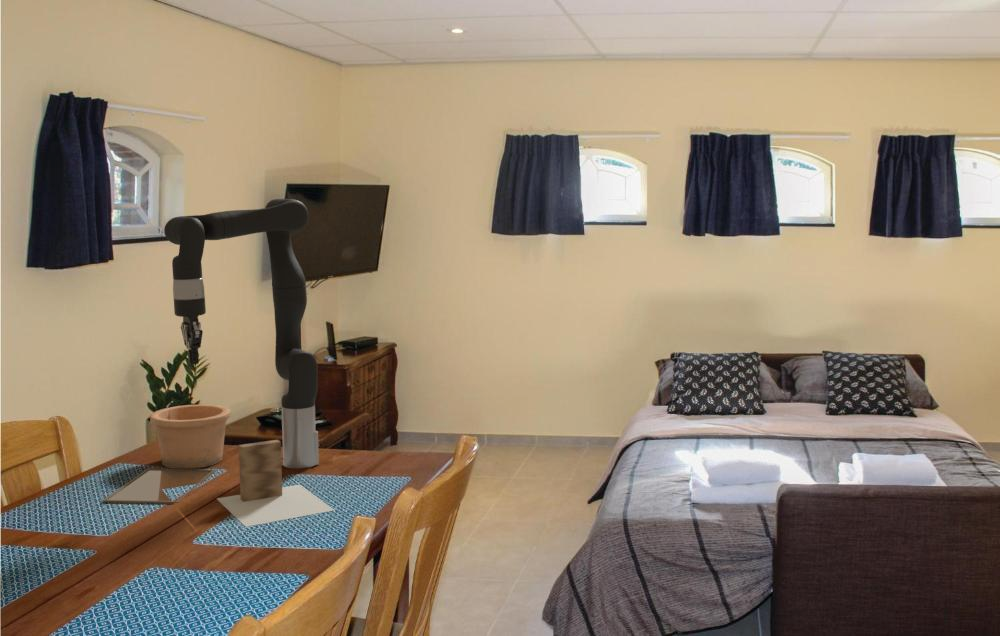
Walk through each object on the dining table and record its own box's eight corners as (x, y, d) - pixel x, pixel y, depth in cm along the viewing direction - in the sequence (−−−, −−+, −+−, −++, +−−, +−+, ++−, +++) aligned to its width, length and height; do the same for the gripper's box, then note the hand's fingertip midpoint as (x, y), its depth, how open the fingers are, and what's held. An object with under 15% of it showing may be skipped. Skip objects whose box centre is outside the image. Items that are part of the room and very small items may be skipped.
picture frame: (177, 505, 236) (215, 473, 264) (177, 501, 236) (215, 469, 264) (102, 504, 237) (147, 472, 265) (102, 500, 237) (147, 468, 265)
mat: (299, 486, 251) (299, 484, 251) (335, 511, 231) (334, 510, 231) (216, 500, 239) (216, 498, 239) (245, 528, 219) (245, 526, 219)
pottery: (135, 467, 268) (133, 417, 266) (186, 448, 288) (184, 401, 286) (199, 475, 260) (197, 424, 258) (246, 455, 281) (245, 407, 279)
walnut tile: (279, 492, 244) (277, 439, 242) (282, 495, 242) (280, 441, 240) (240, 499, 239) (238, 445, 237) (243, 501, 237) (241, 447, 235)
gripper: (211, 297, 236) (215, 366, 238) (197, 292, 247) (202, 358, 249) (180, 300, 232) (185, 369, 234) (167, 295, 243) (172, 361, 246)
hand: (193, 363), depth 242 cm, fingers closed
